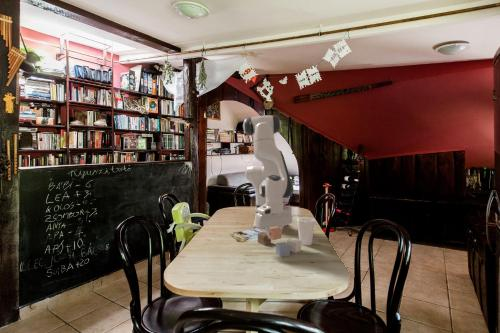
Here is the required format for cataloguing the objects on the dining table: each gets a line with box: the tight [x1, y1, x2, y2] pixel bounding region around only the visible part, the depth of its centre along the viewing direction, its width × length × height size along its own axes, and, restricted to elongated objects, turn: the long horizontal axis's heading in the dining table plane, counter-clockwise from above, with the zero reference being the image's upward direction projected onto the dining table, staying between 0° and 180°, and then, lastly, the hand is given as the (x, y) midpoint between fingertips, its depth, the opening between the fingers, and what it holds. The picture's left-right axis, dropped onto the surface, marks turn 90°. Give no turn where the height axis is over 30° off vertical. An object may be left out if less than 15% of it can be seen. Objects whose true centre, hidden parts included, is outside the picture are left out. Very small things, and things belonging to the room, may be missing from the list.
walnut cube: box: [257, 231, 272, 246], centre depth 156 cm, size 5×5×5 cm
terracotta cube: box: [268, 226, 282, 241], centre depth 148 cm, size 5×5×5 cm
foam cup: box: [296, 216, 316, 246], centre depth 154 cm, size 10×9×13 cm
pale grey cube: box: [286, 237, 302, 254], centre depth 145 cm, size 5×5×5 cm
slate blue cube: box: [275, 241, 291, 258], centre depth 140 cm, size 5×5×5 cm
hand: (274, 234), depth 148 cm, fingers closed on terracotta cube, 5 cm apart
